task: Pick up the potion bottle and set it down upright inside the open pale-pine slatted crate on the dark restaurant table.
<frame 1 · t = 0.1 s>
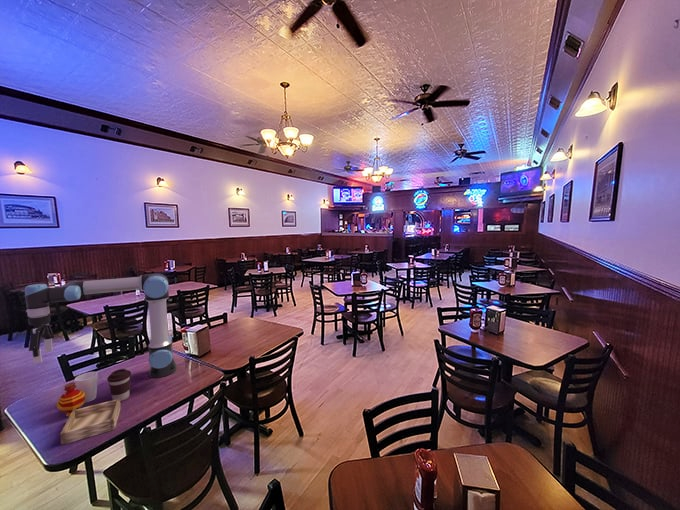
hand: (43, 356, 141), 28 cm above the table, fingers open, 13 cm apart
crate: (93, 424, 132), on the table
potion bottle: (72, 413, 141), on the table
foam cup: (88, 399, 152), on the table
coffee cup: (121, 398, 153), on the table
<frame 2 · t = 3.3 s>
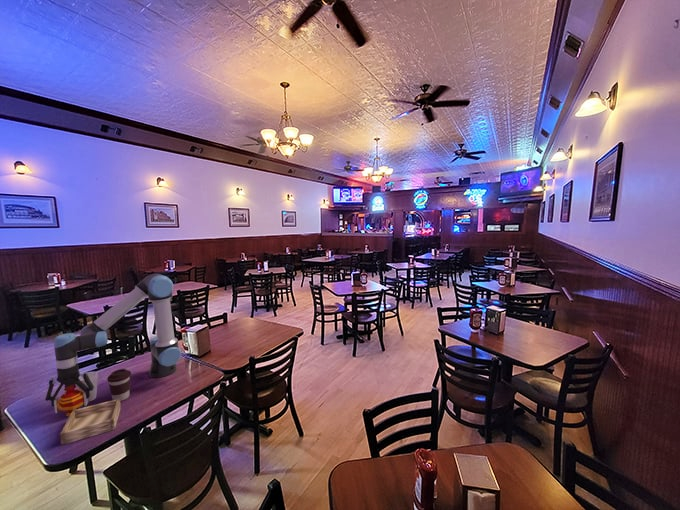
hand: (72, 407, 140), 3 cm above the table, fingers closed on potion bottle, 10 cm apart
potion bottle: (72, 413, 141), on the table, touching gripper
everything else where it was.
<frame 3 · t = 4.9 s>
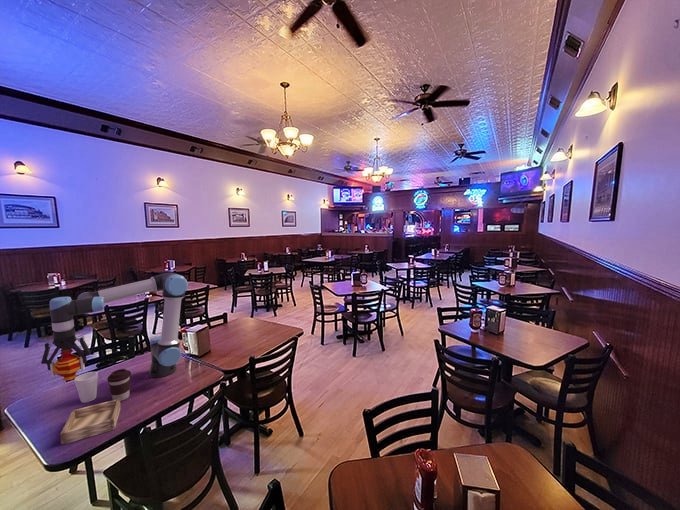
hand: (68, 372, 138), 21 cm above the table, fingers closed on potion bottle, 10 cm apart
potion bottle: (69, 378, 139), point 18 cm above the table, touching gripper
everything else where it was.
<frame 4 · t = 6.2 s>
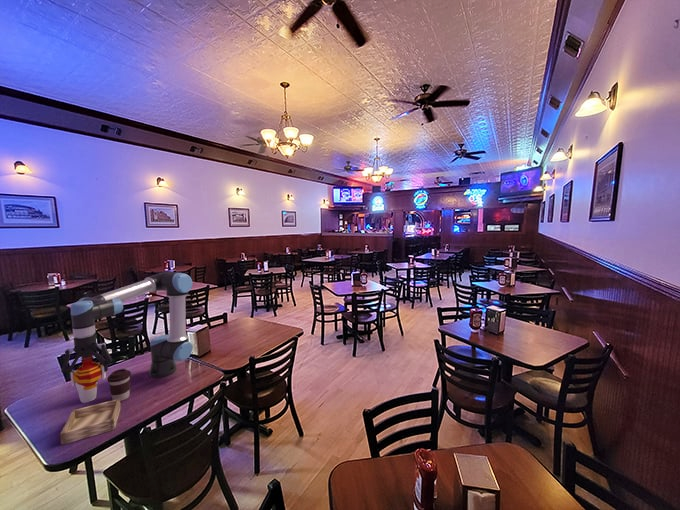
hand: (89, 381, 130), 22 cm above the table, fingers closed on potion bottle, 10 cm apart
potion bottle: (90, 387, 130), point 19 cm above the table, touching gripper
everything else where it was.
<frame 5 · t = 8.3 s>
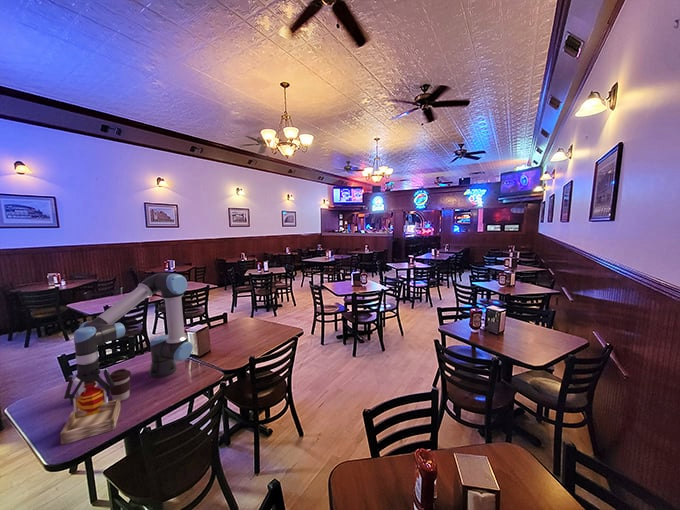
hand: (91, 406, 131), 9 cm above the table, fingers closed on potion bottle, 10 cm apart
potion bottle: (92, 412, 132), point 6 cm above the table, touching gripper
everything else where it was.
when the fingers open (6 cm above the table, at t = 9.6 s): potion bottle drops 2 cm, resting on crate.
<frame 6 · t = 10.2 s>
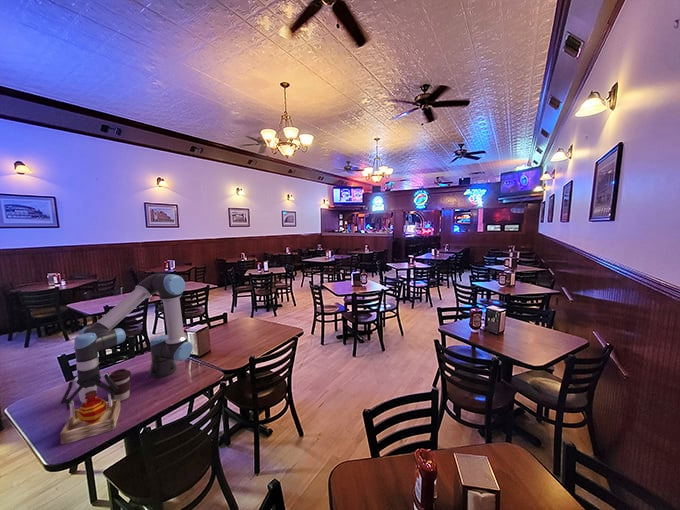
hand: (92, 410, 132), 7 cm above the table, fingers open, 13 cm apart
potion bottle: (93, 423, 132), point 1 cm above the table, touching crate
everything else where it was.
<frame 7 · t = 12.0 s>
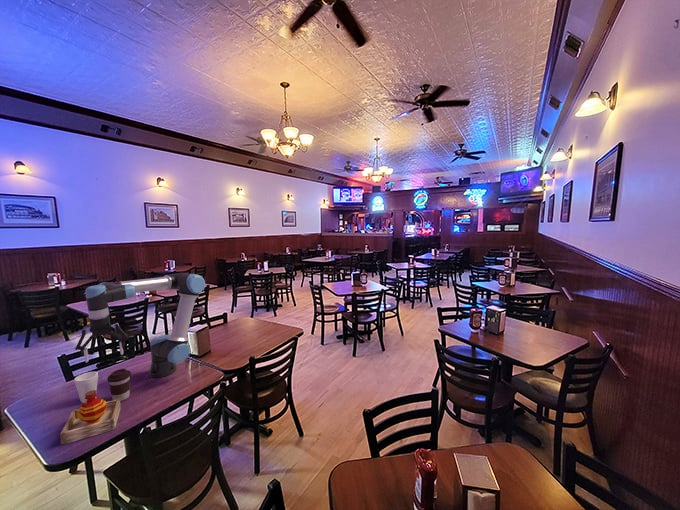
hand: (105, 357, 141), 28 cm above the table, fingers open, 13 cm apart
nothing on the table moved.
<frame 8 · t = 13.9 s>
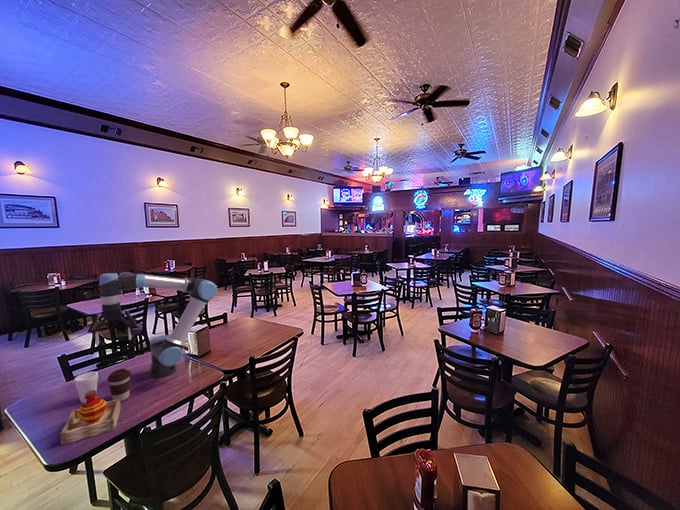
hand: (114, 341, 150), 32 cm above the table, fingers open, 13 cm apart
nothing on the table moved.
at the end: potion bottle inside the target area on the crate (0.1 cm from its centre), point 0.8 cm above the crate's base; potion bottle tilted 0°; the gripper is holding nothing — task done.
